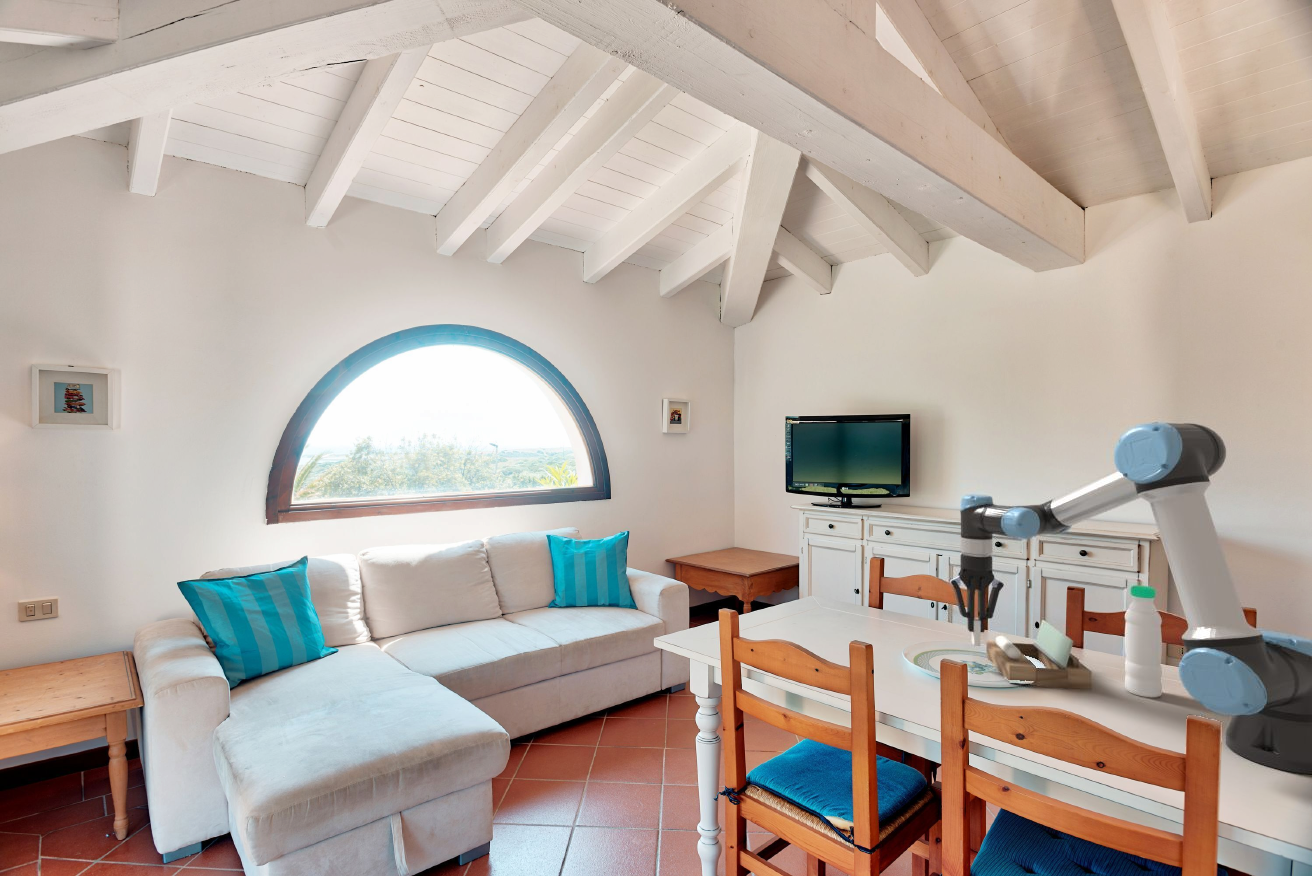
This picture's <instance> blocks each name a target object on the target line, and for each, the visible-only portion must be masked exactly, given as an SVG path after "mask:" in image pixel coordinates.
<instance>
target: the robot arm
mask: <svg viewBox="0 0 1312 876" xmlns="http://www.w3.org/2000/svg"><path fill="white" fill-rule="evenodd" d="M1226 457H1227V448H1226V445H1225V441H1224V440H1223V438H1222V437H1221V436H1220V435H1219V434H1218V433H1217V432H1216V431H1215V430H1213V429H1211V428H1210V427H1207V426H1205V425H1201V424H1198V423H1178V422H1177V423H1172V422H1171V423H1170V422H1162V421H1160V422H1159V421H1157V422H1156V421H1155V422H1150V423H1142V424H1138V425H1134V426H1133V427H1130V428H1129V429H1127V430H1126V431H1125V432H1124V433H1123V434H1121V436H1120V438H1119V439H1118V441H1117V443H1116V445H1115V447H1114V451H1113V460H1114V465H1115V468H1116V469H1115V470H1113V471H1110V472H1108V473H1105V474H1104V475H1102V476H1100V477H1098V478H1096V479H1093V480H1092V481H1090V482H1087V483H1085V484H1083V485H1080V486H1078V487H1076V488H1074V489H1072V490H1069V491H1068V492H1065V493H1063V494H1061V495H1059V496H1057V497H1054V498H1053V499H1050V500H1048V501H1046V502H1044V503H1040V504H1029V505H1012V506H1011V505H999V504H995V503H994V501H993V497H992V496H991V495H988V494H965V495H963V496H962V497H961V501H960V510H959V511H960V552H961V554H960V570H959V572H958V574H957V576H956V577H954V578H950V579H949V584H950V585H951V586H952V587H953V591H954V595H955V599H956V602H957V607H958V611H959V615H961V616H962V617H963V618H966V619H967V630H968V631H969V633H971V643H972V645H973V646H975V647H981V637H982V636H981V633H985V629H986V628H985V625H986V620H987V619H993V617H994V613H995V610H996V605H997V603H998V599H999V595H1000V592H1001V591H1002V589H1003V588H1004V587H1005V585H1004V583H1003V582H1002V581H1000V580H998V579H996V577H995V575H994V573H993V556H992V554H993V535H996V536H1003V537H1009V538H1012V539H1015V540H1019V539H1020V540H1021V539H1022V540H1030V539H1032V538H1033V537H1035V536H1040V535H1041V536H1042V535H1043V536H1044V535H1057V534H1063V533H1066V532H1068V531H1069V530H1070V529H1071V528H1072V526H1074V525H1076V524H1079V523H1081V522H1084V521H1087V520H1089V519H1091V518H1094V517H1097V516H1098V515H1101V514H1103V513H1106V512H1108V511H1111V510H1114V509H1116V508H1119V507H1121V506H1124V505H1126V504H1129V503H1130V502H1134V501H1136V500H1138V499H1142V500H1144V501H1146V502H1148V503H1149V505H1150V508H1151V511H1152V515H1153V517H1154V522H1155V524H1156V527H1157V530H1158V533H1159V536H1160V540H1161V544H1162V547H1163V549H1164V553H1165V555H1166V559H1167V563H1168V565H1169V568H1170V571H1171V576H1172V577H1173V582H1174V584H1175V587H1176V591H1177V593H1178V597H1179V601H1180V605H1181V606H1182V607H1181V608H1182V610H1183V613H1184V616H1185V619H1186V622H1187V626H1188V627H1187V630H1186V631H1185V632H1184V633H1183V635H1182V636H1181V639H1182V643H1183V647H1184V649H1185V653H1184V654H1183V656H1182V659H1181V660H1180V661H1179V663H1178V675H1179V678H1180V681H1181V683H1182V685H1183V687H1184V689H1185V690H1186V691H1187V693H1188V694H1189V695H1190V697H1192V698H1193V699H1194V700H1195V701H1196V702H1199V704H1201V705H1202V706H1203V707H1204V708H1207V709H1208V710H1211V711H1212V712H1215V713H1217V714H1222V715H1225V716H1232V717H1231V719H1230V721H1229V722H1230V723H1228V726H1227V728H1226V731H1225V745H1226V746H1227V748H1229V750H1231V751H1232V752H1233V753H1235V754H1237V755H1239V756H1242V757H1243V758H1245V759H1247V760H1249V761H1253V762H1255V763H1257V764H1260V765H1264V766H1267V767H1270V768H1274V769H1278V770H1283V771H1287V772H1293V773H1297V774H1305V775H1312V640H1311V639H1309V638H1306V637H1303V636H1299V635H1294V634H1290V633H1289V634H1288V633H1284V632H1279V631H1275V630H1268V629H1262V628H1255V627H1254V626H1252V625H1250V624H1249V623H1248V622H1247V619H1246V616H1245V613H1244V610H1243V607H1242V604H1241V601H1240V597H1239V595H1238V592H1237V589H1236V586H1235V584H1234V581H1233V577H1232V574H1231V572H1230V568H1229V566H1228V563H1227V559H1226V557H1225V554H1224V551H1223V548H1222V544H1221V541H1220V539H1219V535H1218V533H1217V529H1216V527H1215V524H1214V523H1215V522H1214V521H1213V517H1212V515H1211V511H1210V508H1209V505H1208V502H1207V500H1206V497H1205V493H1206V491H1207V490H1208V488H1209V487H1210V486H1211V484H1212V483H1211V481H1210V477H1212V476H1213V475H1214V474H1216V473H1217V472H1218V471H1219V470H1220V469H1221V468H1222V467H1223V465H1224V464H1225V462H1226V461H1225V460H1226ZM961 582H962V583H963V586H965V587H966V592H967V595H966V596H967V597H966V598H967V600H966V602H967V603H966V606H967V607H966V606H965V602H964V598H963V593H962V590H961V587H960V586H962V585H961V584H962V583H961ZM989 586H992V587H991V589H990V594H989V598H988V602H987V604H986V594H987V593H986V591H987V589H988V587H989ZM976 591H977V617H975V609H976V608H975V602H976V601H975V596H976Z"/></svg>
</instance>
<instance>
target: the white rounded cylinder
mask: <svg viewBox="0 0 1312 876" xmlns="http://www.w3.org/2000/svg"><path fill="white" fill-rule="evenodd" d="M995 642H996V644H997V645H998V646H999V647H1000V648H1001V649H1002V650H1003V651H1004V652H1005V653H1006V654H1007V655H1008V656H1009V657H1010V658H1011V659H1014V660H1016V659H1019V658H1020V656H1021V652H1020V650H1019V649H1018V648H1017V647H1016V646H1014V645H1013V644H1012V643H1013V642H1011V641H1010V640H1009V639H1008V638H1007V637H1006V636H1005V635H999V636H996V638H995Z"/></svg>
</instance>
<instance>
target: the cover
mask: <svg viewBox="0 0 1312 876" xmlns="http://www.w3.org/2000/svg"><path fill="white" fill-rule="evenodd" d="M1032 644H1033V645H1034V646H1035V647H1036V648H1037V649H1038V650H1040V651H1041V652H1042V653H1043V654H1044V655H1045V656H1047V657H1048V658H1049V659H1050V660H1051V661H1052V662H1054V663H1055V664H1056V665H1057V666H1058V667H1059V668H1061V669H1065V668H1066V665H1067V662H1068V658H1069V655H1070V653H1071V652H1072V648H1073V645H1074V640H1072V639H1071V638H1070V637H1068V636H1067V635H1065V633H1063V632H1062V631H1061V630H1059V629H1057V628H1056V627H1054V626H1053V625H1051V624H1050V623H1049V622H1048V621H1046V619H1045V620H1044V619H1042V620H1041V624H1040V626H1039V630H1038V634H1037V637H1036V639H1035V642H1033V643H1032Z"/></svg>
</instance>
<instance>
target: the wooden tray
mask: <svg viewBox="0 0 1312 876" xmlns="http://www.w3.org/2000/svg"><path fill="white" fill-rule="evenodd" d="M985 642H986V645H985V646H986V654H985V656H986V659H987V658H988V659H987V660H988V661H989V660H990V661H991V662H992V663H993V664H994V665H995V667H996V668H997V669H998V670H999V671H1000V672H1001V673H1000V672H999V671H998V670H997V669H996V668H995V667H994V668H995V669H996V670H997V671H998V672H999V673H1000V674H1001V675H1002V674H1003V676H1004V677H1006V678H1007V679H1008V680H1020V681H1025V680H1026V681H1034V682H1033V683H1032V684H1030V685H1029V686H1036V687H1043V688H1044V687H1045V688H1056V689H1057V688H1060V689H1083V690H1092V670H1091V669H1090V668H1088V667H1087V666H1085V665H1084V664H1083V663H1082V662H1080V659H1079V658H1077V657H1076V656H1075V655H1074V654H1072V653H1071V652H1070V655H1069V658H1068V662H1067V665H1066V668H1065V669H1061V668H1059V667H1058V666H1057V665H1056V664H1055V663H1054V662H1052V661H1051V660H1050V659H1049V658H1048V657H1047V656H1045V655H1044V654H1043V653H1042V652H1041V651H1040V650H1038V649H1037V648H1036V647H1035V646H1034V645H1033V643H1023V642H1022V643H1020V642H1011V643H1012V644H1013V645H1014V646H1016V647H1017V648H1018V649H1019V650H1020V652H1021V656H1020V658H1019V659H1016V660H1014V659H1011V658H1010V657H1009V656H1008V655H1007V654H1006V653H1005V652H1004V651H1003V650H1002V649H1001V648H1000V647H999V646H998V645H997V644H996V641H993V640H986V641H985ZM1024 655H1025V656H1029V657H1032V658H1035V659H1037V660H1039V661H1040V662H1042V663H1043V664H1044V666H1045V667H1046V668H1036V666H1035V665H1034V664H1033V663H1032V662H1031V661H1030V660H1028V659H1027V658H1026V657H1025V656H1024ZM990 661H989V662H990ZM991 662H990V663H991ZM992 663H991V664H992ZM993 664H992V665H993ZM994 665H993V666H994ZM1003 676H1002V677H1003ZM1004 677H1003V678H1004Z"/></svg>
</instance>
